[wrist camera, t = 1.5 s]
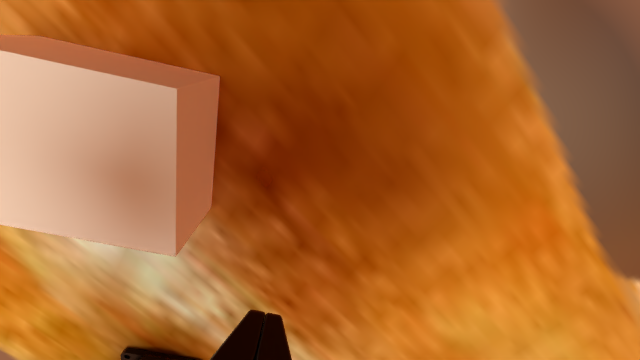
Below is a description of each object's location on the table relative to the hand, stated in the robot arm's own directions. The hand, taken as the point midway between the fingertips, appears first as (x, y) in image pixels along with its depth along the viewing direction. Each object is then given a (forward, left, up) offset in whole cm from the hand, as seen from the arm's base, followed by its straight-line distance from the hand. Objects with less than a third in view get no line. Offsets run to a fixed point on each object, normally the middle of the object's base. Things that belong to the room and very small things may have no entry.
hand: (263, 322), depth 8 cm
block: (0, +9, -11) cm, 14 cm away
